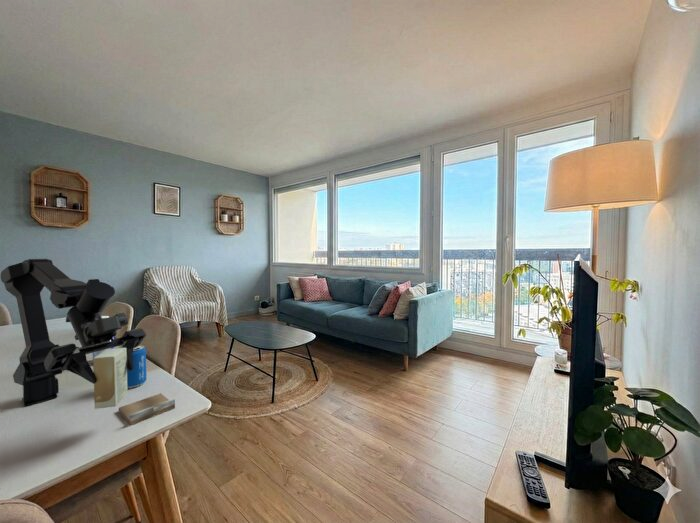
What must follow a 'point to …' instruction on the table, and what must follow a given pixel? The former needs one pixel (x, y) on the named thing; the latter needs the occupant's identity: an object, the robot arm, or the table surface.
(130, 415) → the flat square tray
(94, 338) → the robot arm
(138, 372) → the beverage can
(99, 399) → the skincare box
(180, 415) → the table surface
